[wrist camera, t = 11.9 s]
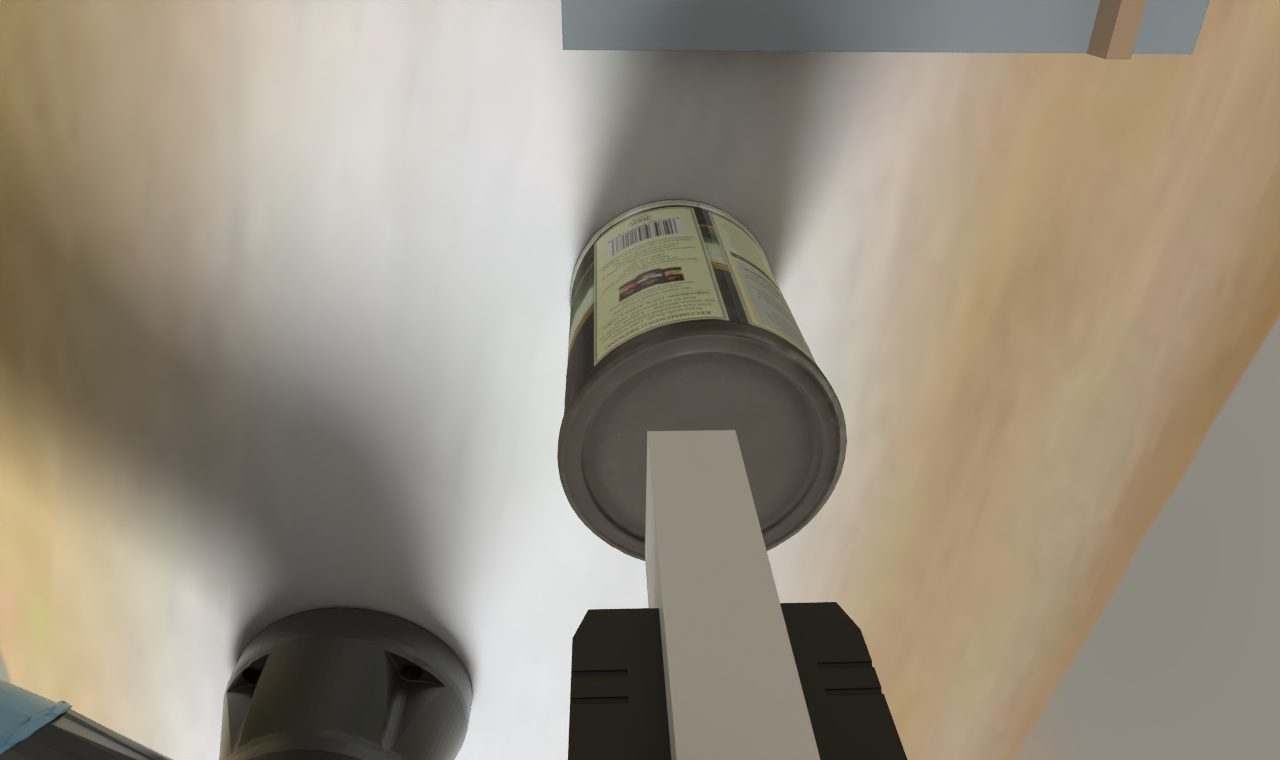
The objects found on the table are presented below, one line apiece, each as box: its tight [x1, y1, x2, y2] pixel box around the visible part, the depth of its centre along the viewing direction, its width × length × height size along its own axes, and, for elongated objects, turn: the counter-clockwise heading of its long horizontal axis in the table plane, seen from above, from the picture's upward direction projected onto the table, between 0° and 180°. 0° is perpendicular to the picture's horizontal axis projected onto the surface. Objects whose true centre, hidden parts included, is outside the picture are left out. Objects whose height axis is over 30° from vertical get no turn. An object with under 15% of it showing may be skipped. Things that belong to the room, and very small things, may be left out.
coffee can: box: [558, 199, 847, 561], centre depth 35 cm, size 10×10×14 cm
